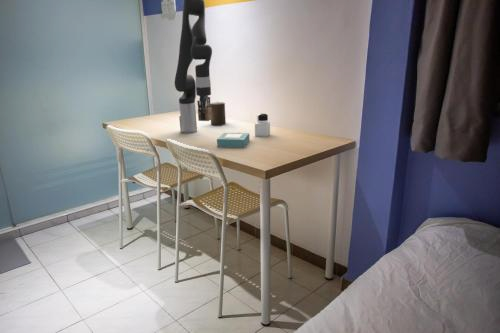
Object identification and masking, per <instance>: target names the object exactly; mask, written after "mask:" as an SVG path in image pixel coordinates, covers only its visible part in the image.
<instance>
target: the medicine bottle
mask: <svg viewBox="0 0 500 333" xmlns="http://www.w3.org/2000/svg"><path fill="white" fill-rule="evenodd" d="M268 116H269V115H268V114H267V113H258V114H257V115H256V122H255V123H254V136H255V137H265V138H266V137H268V136H269V135H271V122H270V121H268V119H269V118H268Z"/></svg>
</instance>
